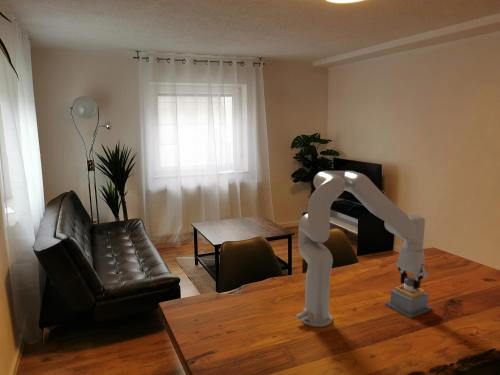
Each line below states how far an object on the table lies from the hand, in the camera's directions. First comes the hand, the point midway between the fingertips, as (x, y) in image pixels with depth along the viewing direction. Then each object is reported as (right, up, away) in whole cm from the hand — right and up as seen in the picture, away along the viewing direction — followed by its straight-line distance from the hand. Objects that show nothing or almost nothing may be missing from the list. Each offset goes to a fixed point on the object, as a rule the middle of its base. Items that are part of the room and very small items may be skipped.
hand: (409, 285), depth 166 cm
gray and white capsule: (0, -3, +1) cm, 3 cm away
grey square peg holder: (0, -10, +2) cm, 10 cm away
